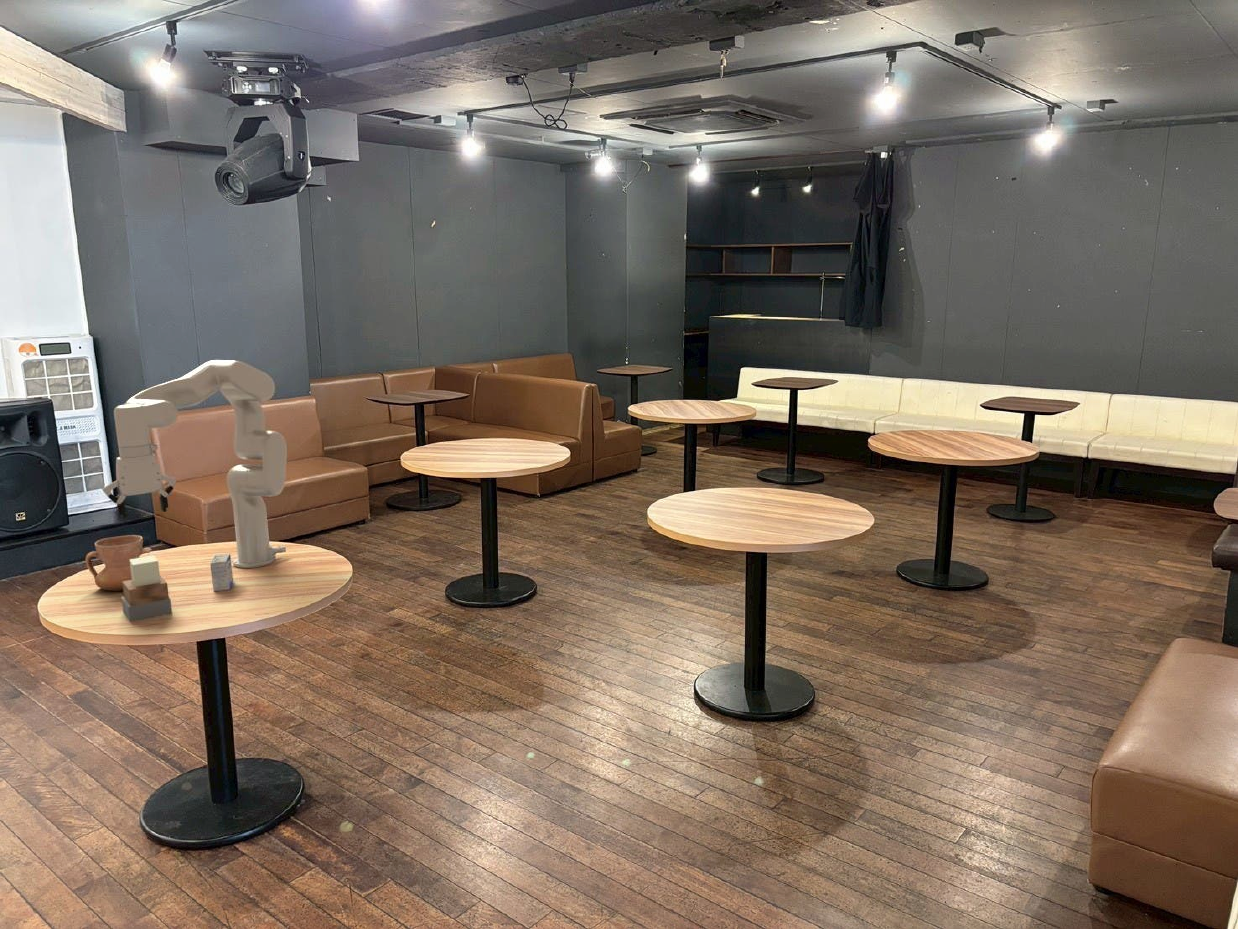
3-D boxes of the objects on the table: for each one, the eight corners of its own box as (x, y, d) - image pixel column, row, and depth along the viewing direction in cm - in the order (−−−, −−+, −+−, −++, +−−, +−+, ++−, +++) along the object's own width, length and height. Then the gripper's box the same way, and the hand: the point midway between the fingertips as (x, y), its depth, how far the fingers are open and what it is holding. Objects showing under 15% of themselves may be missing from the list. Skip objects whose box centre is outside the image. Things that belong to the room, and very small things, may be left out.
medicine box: (229, 590, 250) (226, 561, 248) (213, 591, 249) (210, 563, 247) (233, 581, 258) (230, 553, 256) (217, 583, 256) (214, 555, 255)
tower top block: (161, 590, 238) (159, 574, 237) (168, 598, 231) (167, 582, 231) (124, 597, 233) (122, 581, 232) (131, 606, 226) (129, 590, 225)
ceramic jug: (165, 577, 262) (159, 531, 259) (144, 593, 248) (138, 545, 245) (102, 580, 260) (96, 535, 257) (78, 597, 246) (71, 548, 243)
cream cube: (157, 576, 236) (154, 555, 234) (160, 582, 231) (158, 560, 230) (132, 580, 232) (129, 559, 231) (135, 587, 227) (132, 565, 226)
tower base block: (164, 604, 240) (162, 588, 239) (172, 614, 232) (170, 598, 231) (123, 612, 234) (121, 596, 233) (130, 623, 226) (128, 607, 225)
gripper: (168, 445, 236) (176, 505, 239) (95, 453, 225) (104, 517, 229) (175, 449, 230) (182, 511, 234) (100, 458, 219) (109, 523, 223)
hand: (144, 514), depth 231 cm, fingers open, 9 cm apart
